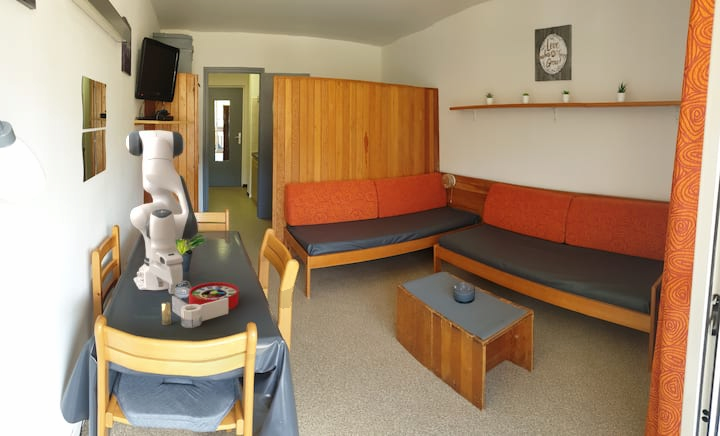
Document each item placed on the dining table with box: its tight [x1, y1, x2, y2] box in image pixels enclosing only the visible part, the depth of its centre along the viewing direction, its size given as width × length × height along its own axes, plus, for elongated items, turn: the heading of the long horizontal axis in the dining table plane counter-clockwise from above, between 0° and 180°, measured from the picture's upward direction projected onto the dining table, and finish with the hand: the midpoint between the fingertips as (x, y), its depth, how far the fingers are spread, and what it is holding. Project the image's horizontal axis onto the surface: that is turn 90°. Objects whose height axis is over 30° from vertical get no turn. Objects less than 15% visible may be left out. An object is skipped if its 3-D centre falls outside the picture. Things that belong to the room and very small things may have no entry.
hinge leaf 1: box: [171, 295, 203, 329], centre depth 176 cm, size 19×7×6 cm, turn 47°
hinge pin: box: [161, 301, 172, 326], centre depth 171 cm, size 3×3×8 cm
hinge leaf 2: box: [180, 298, 229, 322], centre depth 176 cm, size 7×19×6 cm, turn 137°
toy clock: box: [188, 282, 239, 311], centre depth 192 cm, size 20×6×20 cm
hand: (166, 289), depth 169 cm, fingers open, 8 cm apart
